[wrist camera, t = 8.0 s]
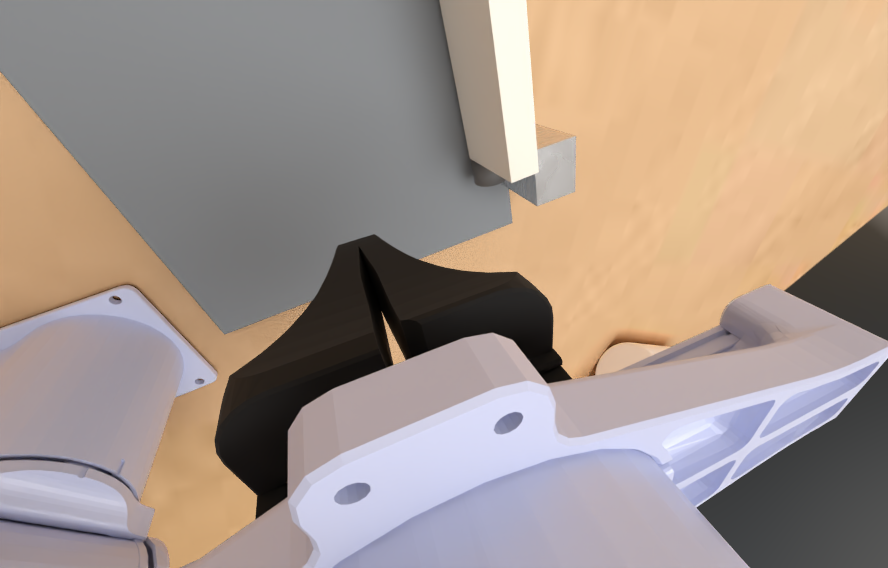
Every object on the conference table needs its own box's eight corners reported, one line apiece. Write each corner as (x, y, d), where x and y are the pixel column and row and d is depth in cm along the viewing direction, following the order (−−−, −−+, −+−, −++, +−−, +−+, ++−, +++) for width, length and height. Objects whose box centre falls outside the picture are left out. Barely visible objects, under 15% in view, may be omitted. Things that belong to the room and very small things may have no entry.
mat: (225, 330, 22) (224, 334, 22) (-233, -215, 9) (-251, -224, 9) (509, 220, 25) (512, 222, 25) (451, -300, 12) (454, -310, 12)
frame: (496, 185, 23) (555, 223, 18) (386, -153, 14) (442, -275, 9) (534, 164, 23) (602, 195, 18) (450, -187, 14) (543, -326, 9)
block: (498, 168, 22) (544, 195, 18) (469, 180, 22) (509, 209, 18) (461, -85, 15) (523, -135, 11) (418, -73, 15) (465, -120, 11)
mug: (620, 326, 37) (687, 382, 31) (673, 333, 42) (741, 383, 36) (564, 406, 42) (612, 468, 36) (617, 404, 47) (668, 459, 40)
